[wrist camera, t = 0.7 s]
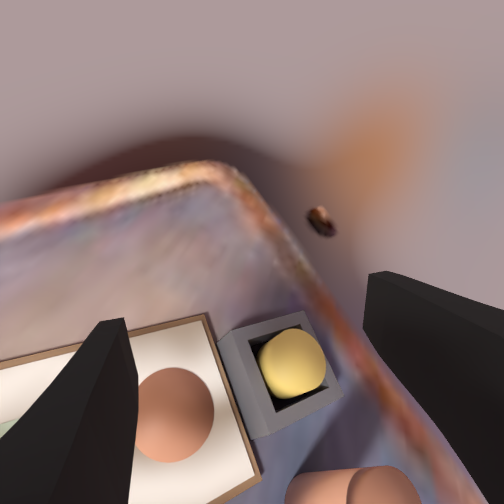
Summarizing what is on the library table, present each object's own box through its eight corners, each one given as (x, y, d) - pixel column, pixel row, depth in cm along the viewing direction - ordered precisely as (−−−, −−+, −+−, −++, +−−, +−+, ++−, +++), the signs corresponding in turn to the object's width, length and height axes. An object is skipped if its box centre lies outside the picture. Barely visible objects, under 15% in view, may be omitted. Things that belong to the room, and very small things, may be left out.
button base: (321, 403, 28) (344, 396, 26) (250, 440, 24) (270, 434, 22) (285, 323, 31) (303, 309, 29) (215, 343, 27) (230, 330, 25)
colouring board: (258, 480, 23) (264, 479, 23) (-125, 710, 13) (-134, 722, 12) (201, 316, 28) (205, 312, 27) (-117, 393, 18) (-123, 389, 17)
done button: (313, 387, 27) (335, 379, 25) (269, 408, 24) (289, 400, 22) (290, 334, 29) (309, 322, 27) (246, 349, 26) (263, 336, 24)
